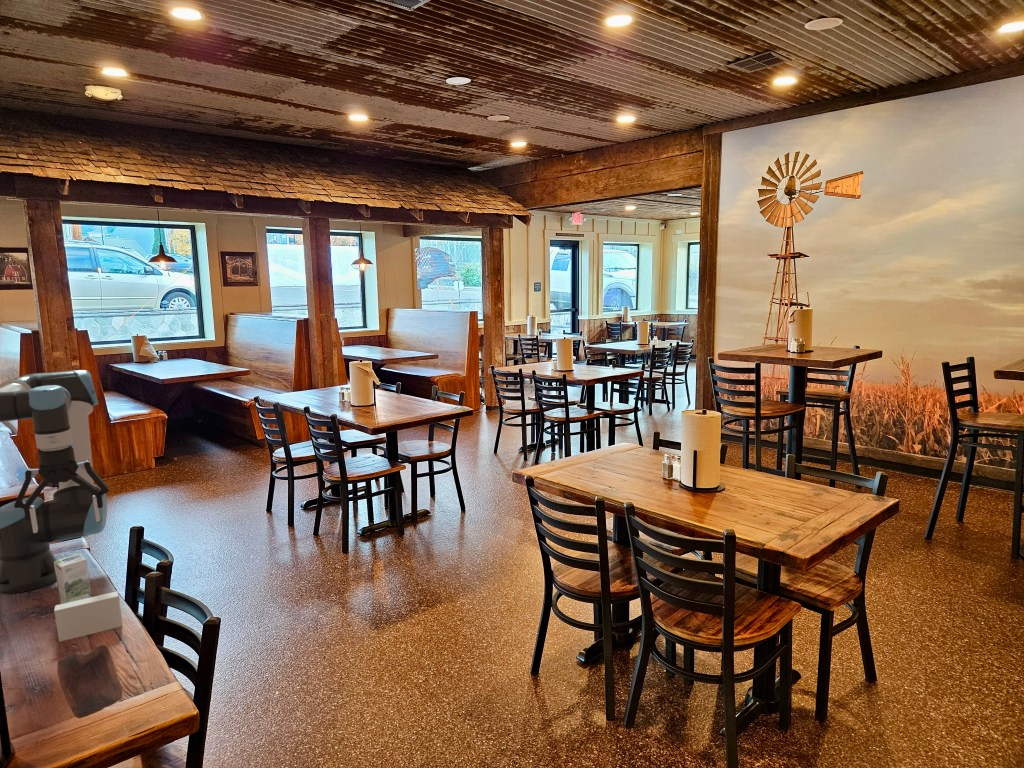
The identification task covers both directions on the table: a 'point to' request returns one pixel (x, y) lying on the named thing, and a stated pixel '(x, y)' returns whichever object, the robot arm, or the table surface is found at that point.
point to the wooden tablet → (90, 681)
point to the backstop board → (88, 616)
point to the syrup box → (72, 578)
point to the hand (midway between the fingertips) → (67, 525)
